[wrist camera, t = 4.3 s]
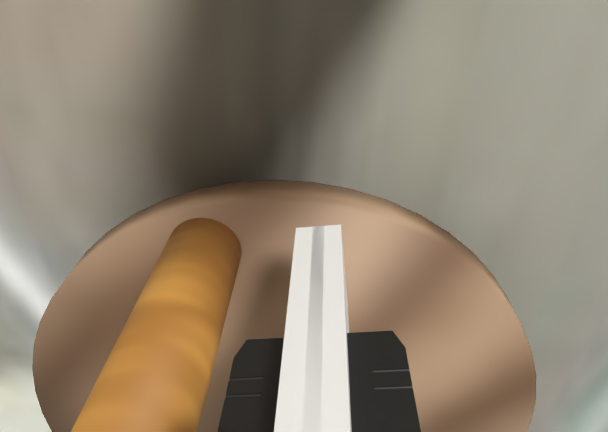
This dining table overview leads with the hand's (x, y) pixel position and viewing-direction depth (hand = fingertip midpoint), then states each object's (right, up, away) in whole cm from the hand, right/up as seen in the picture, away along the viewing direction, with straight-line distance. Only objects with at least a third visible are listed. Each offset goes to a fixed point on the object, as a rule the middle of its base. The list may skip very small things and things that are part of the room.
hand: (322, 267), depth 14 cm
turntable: (-1, -6, +8) cm, 10 cm away
